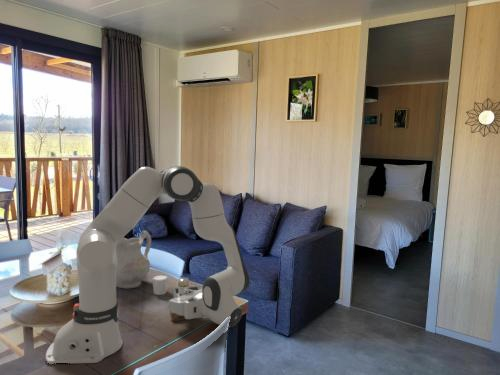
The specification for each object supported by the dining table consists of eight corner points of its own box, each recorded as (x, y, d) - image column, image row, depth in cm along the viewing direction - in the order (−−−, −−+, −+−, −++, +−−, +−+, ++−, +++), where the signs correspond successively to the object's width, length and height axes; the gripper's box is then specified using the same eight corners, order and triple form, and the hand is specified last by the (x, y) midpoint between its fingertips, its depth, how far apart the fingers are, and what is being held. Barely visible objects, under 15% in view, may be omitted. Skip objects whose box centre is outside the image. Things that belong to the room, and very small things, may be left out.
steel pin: (178, 316, 144) (178, 281, 142) (177, 311, 148) (177, 278, 146) (189, 315, 145) (189, 280, 143) (188, 310, 149) (188, 277, 147)
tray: (174, 307, 152) (174, 298, 152) (172, 295, 164) (172, 287, 163) (203, 304, 156) (203, 296, 155) (199, 293, 167) (199, 285, 167)
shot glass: (164, 296, 163) (163, 280, 162) (149, 294, 165) (149, 279, 164) (170, 290, 170) (170, 275, 169) (156, 288, 171) (156, 274, 170)
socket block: (171, 320, 140) (171, 313, 140) (169, 309, 150) (169, 302, 150) (197, 317, 143) (198, 310, 143) (194, 307, 153) (194, 300, 152)
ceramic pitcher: (134, 275, 191) (130, 227, 189) (163, 279, 182) (159, 229, 180) (99, 289, 172) (94, 236, 170) (129, 295, 163) (125, 239, 161)
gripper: (225, 288, 144) (202, 279, 153) (183, 303, 129) (160, 292, 138) (225, 303, 145) (202, 293, 154) (183, 321, 130) (160, 309, 139)
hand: (182, 293), depth 146 cm, fingers closed on steel pin, 4 cm apart
